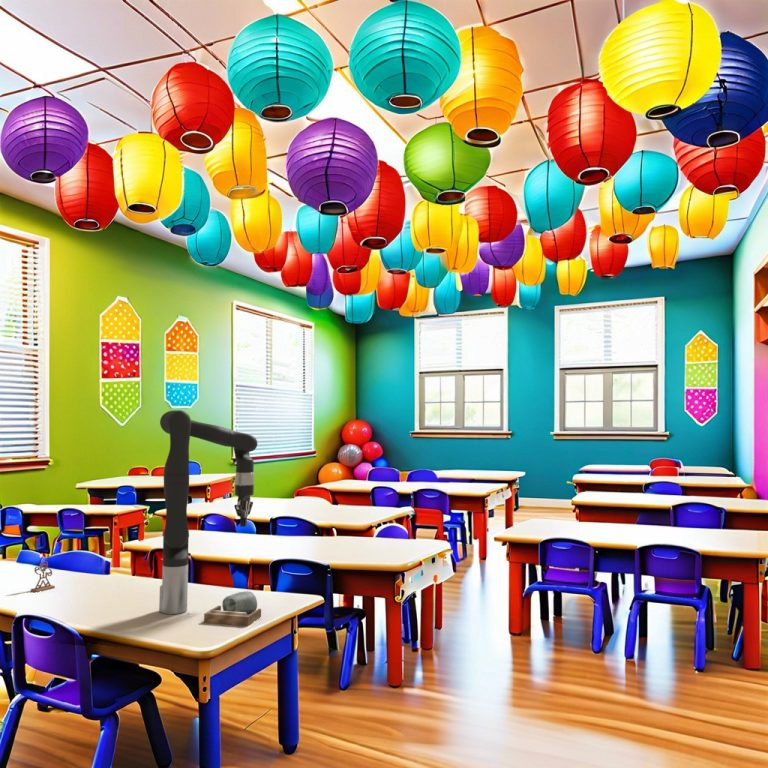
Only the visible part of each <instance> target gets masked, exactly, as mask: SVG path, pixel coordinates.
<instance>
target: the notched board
mask: <svg viewBox="0 0 768 768" xmlns="http://www.w3.org/2000/svg"><path fill="white" fill-rule="evenodd" d="M260 617H261V618H262V608H257V609H256V610H255V611H254V612H251V613H245V612H232V611H223V610H222V605H217V606H216V607H213V608H211V609H210V610H208V611H206V612H205V613H204V614H203V623H209V624H220V625H234V626H243V627H244V626H247V627H248V626H251V624H254V623H255V622H257V619H258V620H259V619H261V618H260ZM254 621H255V622H254Z"/></svg>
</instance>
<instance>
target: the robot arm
mask: <svg viewBox="0 0 768 768" xmlns="http://www.w3.org/2000/svg"><path fill="white" fill-rule="evenodd" d="M159 424H160V428H161V429H162V431H164V432H165V434H169V445H170V446H169V451H168V455H167V457H166V461H165V464H164V468H163V469H164V470H163V494H164V501H165V511H166V512H165V514H166V516H165V523H164V529H163V533H162V534H163V535H162V537H163V538H162V539H163V540H162V541H163V542H162V579H161V581H162V582H161V585H160V586H159V607H158V610H159V611H158V612H159V613H162V614H166V615H178V614H183V613H185V612H187V611H188V588H189V537H190V531H189V525H188V513H187V511H188V509H187V508H188V501H189V499H188V498H189V491H190V440H191V439H190V438H191V437H193V438H196V439H200V440H204V441H206V442H209V443H213V444H216V445H219V446H223V447H229V448H233V451H234V457H235V461H236V462H235V463H236V465H235V477H234V496H237V503H236V504H234V510H235V513H236V515H237V516H236V517H239V519H240V520H239V527H241V528H245V527H247V526H248V525H247V524H248V522H247V521H248V515H249V516H250V514H251V512H252V508H253V505H254V502H253V501H251V496H254V491H255V490H254V489H255V488H254V487H255V475H254V470H255V469H254V467H255V465H254V463H255V462H254V459H253V458H252V457H251V456H250V453H251V452H253V451H255V450H256V449H257V447H258V440H257V438H256V437H255V436H254V435H252V434H249V433H246V432H240V431H235V430H233V429H229V428H227V427H224V426H219V425H216V424H211V423H206V422H205V423H204V422H201V421H196V420H193V419H191V416H190V414H189V413H188V412H186V411H184V410H181V409H180V410H179V409H178V410H169V411H166V412H164V413H163V414H162V415H161V417H160V419H159Z"/></svg>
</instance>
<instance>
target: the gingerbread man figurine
mask: <svg viewBox="0 0 768 768" xmlns="http://www.w3.org/2000/svg"><path fill="white" fill-rule="evenodd" d="M44 562H45V563H44ZM48 566H49V564H48V561H46V560H42V561H41V562H40V563H39V566H35V567H34V573H35V574H36V575H39V579H38V581H37V583H36V585H35V587H34V588H30V592H31V593H35V592H37V593H41V592H45V591H50V590H52V589H55V588H56V586H55V585H52V584H51V583H50V581H49V579H48V577H51V576H52V575H53V570H52V569H51V568H48ZM47 569H48V570H49V572H48V571H47ZM38 571H41V573H38ZM46 571H47V572H46ZM44 579H45V580H46V582H47V583H46V582H45V580H44ZM41 580H42V581H41ZM40 582H41V583H40ZM42 585H43V586H42ZM40 591H41V592H40Z"/></svg>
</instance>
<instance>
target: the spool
mask: <svg viewBox="0 0 768 768" xmlns="http://www.w3.org/2000/svg"><path fill="white" fill-rule="evenodd" d="M221 608H222V611H232V612H245V613H247V614H251V613H253V612H254V611H256V610H257V609H258V601H257V596H256V595H255V593H253V592H252V591H245V590H244V591H238V592H236V593H231V594H230V595H227V596H225V597H224V598H223V599H222V604H221Z"/></svg>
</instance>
